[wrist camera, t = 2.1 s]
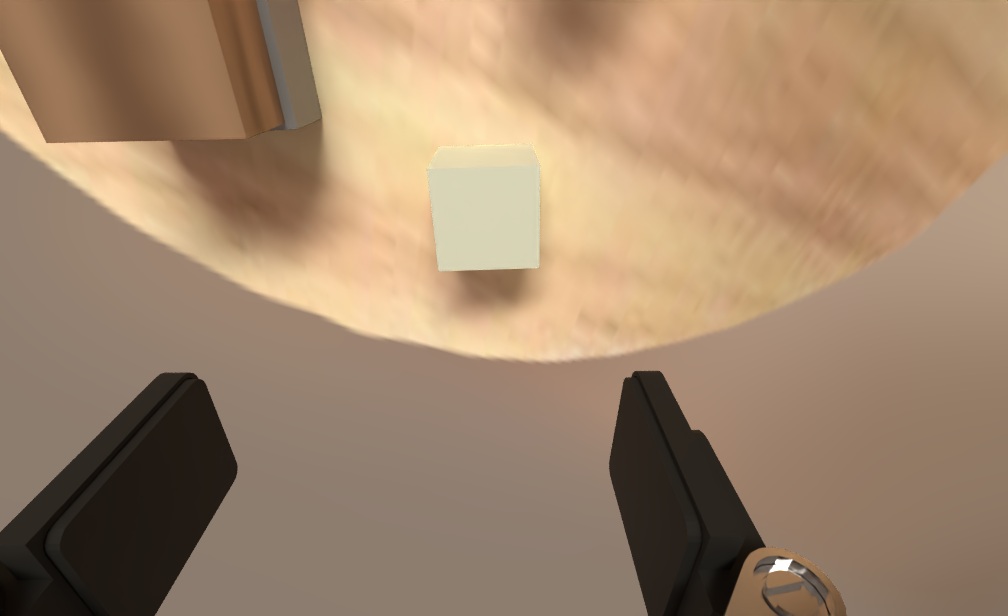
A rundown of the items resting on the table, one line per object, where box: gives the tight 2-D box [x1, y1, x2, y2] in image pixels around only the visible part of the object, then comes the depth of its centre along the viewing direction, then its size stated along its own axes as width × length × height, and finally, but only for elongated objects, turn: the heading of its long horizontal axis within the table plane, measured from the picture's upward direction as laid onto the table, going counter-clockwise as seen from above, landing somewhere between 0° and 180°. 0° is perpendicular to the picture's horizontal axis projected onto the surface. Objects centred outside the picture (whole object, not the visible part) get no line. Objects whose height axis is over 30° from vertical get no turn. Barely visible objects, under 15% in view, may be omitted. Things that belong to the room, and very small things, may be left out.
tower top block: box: [0, 0, 285, 143], centre depth 21 cm, size 9×9×4 cm
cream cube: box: [427, 143, 540, 271], centre depth 29 cm, size 6×6×6 cm
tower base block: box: [256, 0, 322, 130], centre depth 24 cm, size 10×10×4 cm
